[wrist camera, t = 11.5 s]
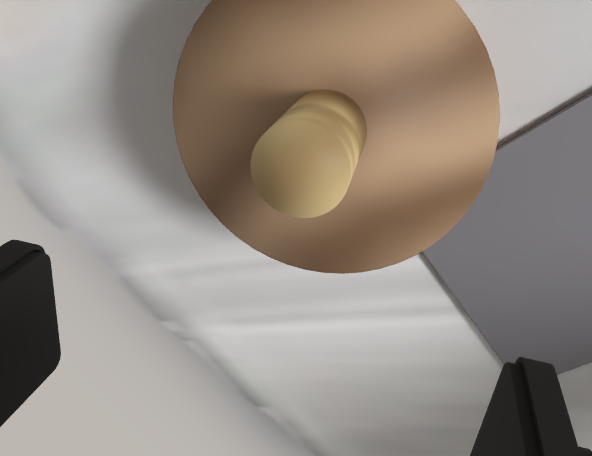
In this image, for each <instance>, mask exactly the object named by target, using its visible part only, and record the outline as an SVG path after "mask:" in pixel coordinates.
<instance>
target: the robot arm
mask: <svg viewBox="0 0 592 456" xmlns="http://www.w3.org/2000/svg"><path fill="white" fill-rule="evenodd" d="M60 356H61V351H60V343H59V333H58V324H57V315H56V306H55V297H54V287H53V279H52V270H51V261H50V257H49V256H48V255H47V254H45V251H44V249H43V248H42V247H41V246H39V245H36V244H32V243H28V242H23V241H19V240H11V241H9V242H7V243H5V244H3V245H2V246H0V427H1V426H2V425H3V424H4V422H5V421H6V420H7V419H8V418H9V417H10V416H11V415H12V414H13V413H14V412H15V411H16V410H17V409H18V408H19V407H20V406H21V405H22V404H23V403H24V402H25V400H26V399H27V398H28V397H29V396H30V395H31V394H32V393H33V392H34V391H35V390H36V389H37V388H38V387H39V386H40V385H41V384H42V383H43V381H45V379H47V377H48V376H49V375H50V374H51V373H52V372H53V371H54V370H55V369H56V367H57V365H58V363H59V360H60ZM470 456H592V451H591V450H590V449H586V448H582V447H578V445H577V442H576V438H575V435H574V432H573V428H572V425H571V421H570V418H569V415H568V411H567V408H566V405H565V401H564V398H563V394H562V391H561V388H560V384H559V381H558V378H557V374H556V371H555V368H554V366H553V365H552V364H550V363H546V362H542V361H537V360H533V359H529V358H524V357H518V359H517V360H516V362H515V363H511V362H506V363H505V364H504V366H503V368H502V371H501V374H500V376H499V379H498V382H497V385H496V387H495V390H494V393H493V395H492V398H491V401H490V403H489V406H488V409H487V411H486V414H485V417H484V420H483V422H482V425H481V428H480V430H479V433H478V436H477V438H476V441H475V444H474V446H473V449H472V452H471V455H470Z"/></svg>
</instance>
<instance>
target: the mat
mask: <svg viewBox="0 0 592 456" xmlns="http://www.w3.org/2000/svg"><path fill="white" fill-rule="evenodd" d="M422 252H423V253H424V254H425V256H426V257H427V259H428V260H429V261H430V263H431V264H432V265H433V267H434V268H435V270H436V271H437V272H438V274H439V275H440V276H441V278H442V279H443V281H444V282H445V283H446V285H447V286H448V287H449V289H450V290H451V292H452V293H453V294H454V296H455V297H456V299H457V300H458V301H459V303H460V304H461V305H462V307H463V308H464V310H465V311H466V312H467V314H468V315H469V316H470V318H471V319H472V321H473V322H474V323H475V325H476V326H477V327H478V329H479V330H480V332H481V333H482V334H483V336H484V337H485V338H486V340H487V341H488V343H489V344H490V345H491V347H492V348H493V349H494V351H495V352H496V354H497V355H498V356H499V358H500V359H501V361H502V362H503V363H504V364H505V363H506V362H511V363H515V362H516V360H517V359H518V357H524V358H529V359H533V360H537V361H542V362H546V363H550V364H552V365H553V366H554V368H555V371H556V374H557V375H558V374H560V373H563V372H566V371H568V370H571V369H574V368H576V367H579V366H582V365H584V364H587V363H590V362H592V92H591V93H589V94H588V95H586V96H584V97H583V98H581V99H579V100H578V101H576V102H574V103H572V104H571V105H569V106H567V107H566V108H564V109H562V110H561V111H559V112H557V113H555V114H554V115H552V116H550V117H549V118H547V119H545V120H543V121H542V122H540V123H538V124H537V125H535V126H533V127H532V128H530V129H528V130H526V131H525V132H523V133H521V134H520V135H518V136H516V137H515V138H513V139H511V140H509V141H508V142H506V143H504V144H503V145H501V146H499V147H497V148H496V151H495V155H494V159H493V163H492V166H491V168H490V171H489V173H488V176H487V179H486V181H485V183H484V185H483V187H482V189H481V191H480V192H479V194H478V196H477V198H476V200H475V201H474V203H473V204H472V205H471V207H470V208H469V210H468V211H467V212H466V214H465V215H464V216H463V218H462V219H461V220H460V221H459V222H458V223H457V224H456V225H455V226H454V227H453V228H452V229H451V230H450V231H449V232H448V233H447V234H446V235H444V236H443V237H442V238H441V239H439V240H438V241H437V242H436V243H434V244H433V245H432V246H430V247H428V248H427V249H425V250H423V251H422Z"/></svg>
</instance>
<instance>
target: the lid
mask: <svg viewBox="0 0 592 456" xmlns="http://www.w3.org/2000/svg"><path fill="white" fill-rule="evenodd" d="M173 114H174V126H175V132H176V138H177V143H178V147H179V150H180V154H181V157H182V160H183V163H184V165H185V168H186V170H187V172H188V175H189V177H190V179H191V181H192V183H193V185H194V186H195V188H196V190H197V192H198V193H199V195H200V197H201V198H202V200H203V201H204V202H205V204H206V205H207V206H208V208H209V209H210V211H211V212H212V213H213V214H214V215H215V216H216V217H217V218H218V219H219V221H220V222H221V223H222V224H223V225H224V226H225V227H226V228H228V229H229V230H230V231H231V232H232V233H233V234H234V235H236V236H237V237H238V238H239V239H241V240H242V241H244V242H245V243H246V244H248V245H249V246H251V247H252V248H254V249H255V250H257V251H259V252H261V253H263V254H265V255H266V256H268V257H270V258H273V259H275V260H278V261H280V262H282V263H285V264H287V265H291V266H295V267H298V268H302V269H305V270H311V271H317V272H323V273H357V272H365V271H371V270H376V269H381V268H384V267H387V266H390V265H394V264H397V263H399V262H402V261H404V260H406V259H408V258H411V257H413V256H415V255H417V254H418V253H420V252H422V251H423V250H425V249H427V248H428V247H430V246H432V245H433V244H434V243H436V242H437V241H438V240H439V239H441V238H442V237H443V236H444V235H446V234H447V233H448V232H449V231H450V230H451V229H452V228H453V227H454V226H455V225H456V224H457V223H458V222H459V221H460V220H461V219H462V218H463V216H464V215H465V214H466V212H467V211H468V210H469V208H470V207H471V205H472V204H473V203H474V201H475V200H476V198H477V196H478V194H479V192H480V191H481V189H482V187H483V185H484V183H485V181H486V179H487V176H488V173H489V171H490V168H491V166H492V163H493V159H494V155H495V151H496V146H497V142H498V134H499V123H500V109H499V93H498V88H497V83H496V78H495V73H494V69H493V66H492V64H491V61H490V58H489V55H488V52H487V49H486V47H485V45H484V43H483V41H482V39H481V38H480V36H479V34H478V32H477V30H476V28H475V26H474V25H473V23H472V22H471V21H470V19H469V18H468V17H467V15H466V14H465V12H464V11H463V10H462V8H461V7H460V6H459V4H458V3H457V2H456V1H455V0H212V1H211V2H210V4H209V5H208V6H207V7H206V9H205V10H204V12H203V13H202V14H201V16H200V17H199V19H198V20H197V22H196V23H195V25H194V27H193V29H192V31H191V33H190V35H189V37H188V39H187V41H186V43H185V46H184V49H183V52H182V54H181V57H180V60H179V64H178V68H177V73H176V78H175V84H174V96H173Z"/></svg>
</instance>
